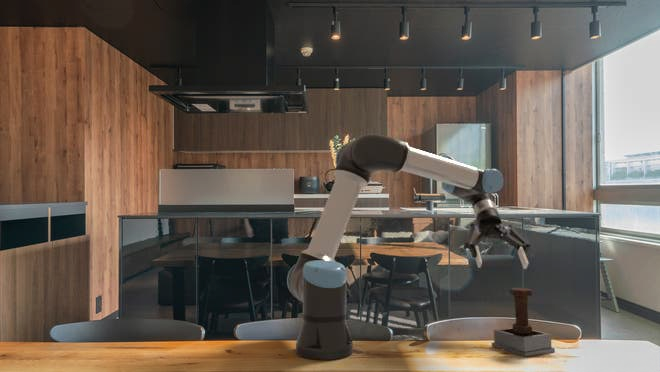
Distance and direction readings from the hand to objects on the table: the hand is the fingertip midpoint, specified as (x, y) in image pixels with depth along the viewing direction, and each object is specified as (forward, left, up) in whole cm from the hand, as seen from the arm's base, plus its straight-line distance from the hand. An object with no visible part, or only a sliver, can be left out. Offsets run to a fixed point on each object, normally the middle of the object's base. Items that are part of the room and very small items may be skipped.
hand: (503, 265), depth 125 cm
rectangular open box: (+10, -5, -22) cm, 24 cm away
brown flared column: (+10, -4, -21) cm, 23 cm away
